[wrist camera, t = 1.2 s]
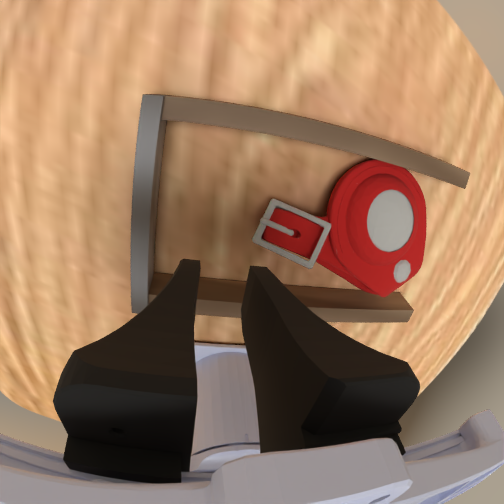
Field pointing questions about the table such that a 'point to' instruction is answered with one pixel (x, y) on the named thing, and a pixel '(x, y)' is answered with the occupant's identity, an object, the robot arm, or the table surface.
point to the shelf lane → (274, 123)
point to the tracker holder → (357, 228)
